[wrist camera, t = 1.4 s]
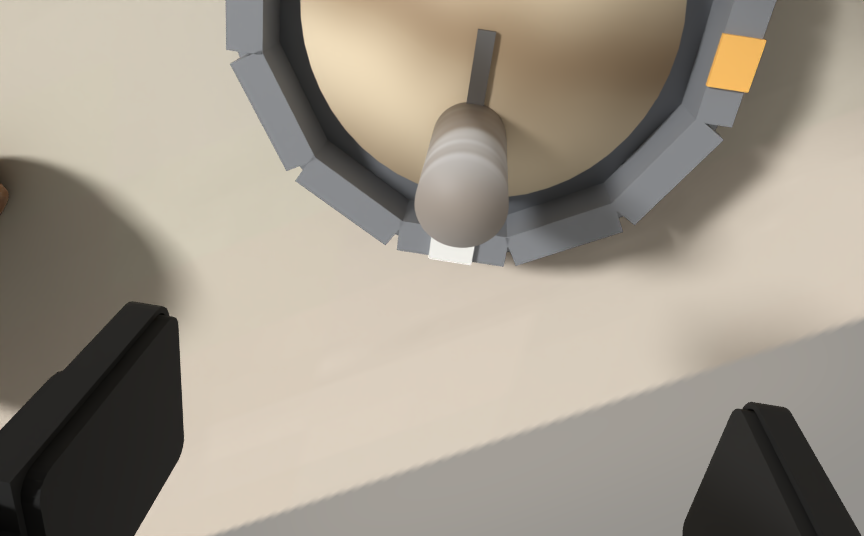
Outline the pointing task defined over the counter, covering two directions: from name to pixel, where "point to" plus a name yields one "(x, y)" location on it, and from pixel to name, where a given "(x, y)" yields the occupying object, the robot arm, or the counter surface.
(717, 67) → the dial housing
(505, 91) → the dial
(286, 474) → the counter surface
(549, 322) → the counter surface
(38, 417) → the robot arm
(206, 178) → the counter surface
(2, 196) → the tin
